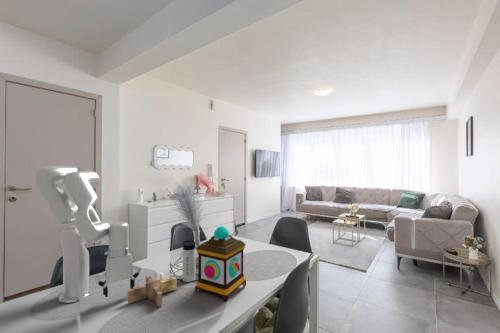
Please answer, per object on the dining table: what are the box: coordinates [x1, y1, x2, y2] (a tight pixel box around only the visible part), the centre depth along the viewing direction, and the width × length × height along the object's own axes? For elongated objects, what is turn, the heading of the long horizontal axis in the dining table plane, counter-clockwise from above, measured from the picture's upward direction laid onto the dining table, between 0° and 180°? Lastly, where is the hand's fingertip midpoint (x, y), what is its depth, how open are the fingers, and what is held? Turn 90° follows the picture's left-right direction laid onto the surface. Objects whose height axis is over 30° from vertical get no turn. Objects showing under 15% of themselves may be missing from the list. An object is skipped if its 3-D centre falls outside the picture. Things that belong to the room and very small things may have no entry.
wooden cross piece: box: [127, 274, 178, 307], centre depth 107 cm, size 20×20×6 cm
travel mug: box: [182, 239, 197, 283], centre depth 124 cm, size 6×7×20 cm
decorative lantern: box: [194, 225, 247, 302], centre depth 116 cm, size 20×20×30 cm
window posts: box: [159, 272, 175, 281], centre depth 119 cm, size 5×5×5 cm
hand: (119, 292), depth 105 cm, fingers open, 9 cm apart
